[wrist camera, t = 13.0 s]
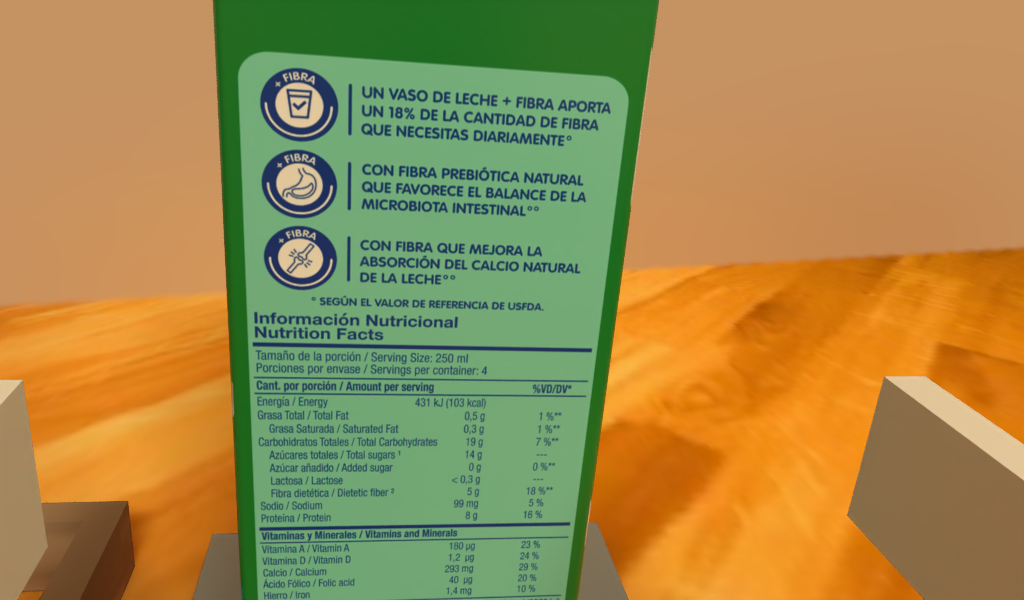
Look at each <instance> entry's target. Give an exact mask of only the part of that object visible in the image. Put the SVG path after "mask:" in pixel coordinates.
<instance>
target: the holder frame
mask: <svg viewBox="0 0 1024 600" xmlns="http://www.w3.org/2000/svg"><path fill="white" fill-rule="evenodd" d="M41 505H42V512H43V518H44V525H45V532H46V539H47V545H48V547H47V549H46V551H45V552H44V554H43V556H42V558H41V559H40V561H39V563H38V565H37V566H36V568H35V570H34V571H33V573H32V575H31V577H30V578H29V580H28V582H27V584H26V585H25V587H24V589H23V590H22V591H43V590H44V592H43V594H42V596H41V597H40V599H39V600H121V597H122V595H123V593H124V590H125V588H126V585H127V583H128V581H129V578H130V576H131V574H132V571H133V569H134V567H135V564H134V554H133V545H132V535H131V525H130V516H129V506H128V501H109V502H64V503H41Z"/></svg>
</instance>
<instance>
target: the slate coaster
mask: <svg viewBox="0 0 1024 600" xmlns="http://www.w3.org/2000/svg"><path fill="white" fill-rule="evenodd" d="M193 600H241V583H240V562H239V541H238V533H228V534H213V535H212V538H211V542H210V545H209V548H208V551H207V555H206V558H205V561H204V564H203V568H202V571H201V574H200V578H199V581H198V584H197V587H196V591H195V594H194V597H193ZM578 600H628V597H627V595H626V592H625V590H624V587H623V585H622V583H621V580H620V578H619V575H618V573H617V570H616V568H615V566H614V563H613V561H612V558H611V556H610V553H609V551H608V549H607V546H606V544H605V541H604V539H603V536H602V534H601V532H600V529H599V527H598V524H597V523H588V530H587V537H586V544H585V552H584V559H583V566H582V574H581V581H580V589H579V596H578Z"/></svg>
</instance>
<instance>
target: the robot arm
mask: <svg viewBox="0 0 1024 600" xmlns="http://www.w3.org/2000/svg"><path fill="white" fill-rule="evenodd" d="M847 516H848V517H849V518H850V519H851V520H852V521H853V522H854V523H855V525H856V526H857V527H858V528H859V529H860V530H861V531H862V532H863V533H864V534H865V535H866V537H867V538H868V539H869V540H870V541H871V542H872V543H873V544H874V545H875V546H876V547H877V549H878V550H879V551H880V552H881V553H882V554H883V555H884V556H885V557H886V558H887V559H888V561H889V562H890V563H891V564H892V565H893V566H894V567H895V568H896V569H897V570H898V571H899V573H900V574H901V575H902V576H903V577H904V578H905V579H906V580H907V581H908V582H909V583H910V585H911V586H912V587H913V588H914V589H915V590H916V591H917V592H918V593H919V594H920V595H921V597H922V598H923V599H924V600H1024V444H1022V443H1021V442H1019V441H1018V440H1016V439H1015V438H1014V437H1012V436H1011V435H1009V434H1008V433H1006V432H1005V431H1003V430H1002V429H1001V428H999V427H998V426H996V425H995V424H993V423H992V422H990V421H989V420H987V419H986V418H985V417H983V416H982V415H980V414H979V413H977V412H976V411H974V410H973V409H972V408H970V407H969V406H967V405H966V404H964V403H963V402H961V401H960V400H958V399H957V398H956V397H954V396H953V395H951V394H950V393H948V392H947V391H945V390H944V389H942V388H941V387H940V386H938V385H937V384H935V383H934V382H932V381H931V380H929V379H928V378H927V377H925V376H910V377H884V379H883V383H882V387H881V391H880V394H879V398H878V402H877V406H876V409H875V413H874V417H873V421H872V425H871V428H870V432H869V436H868V440H867V443H866V447H865V451H864V455H863V458H862V462H861V466H860V470H859V473H858V477H857V481H856V485H855V489H854V492H853V496H852V500H851V504H850V507H849V511H848V515H847ZM47 547H48V545H47V539H46V532H45V525H44V518H43V512H42V505H41V498H40V492H39V485H38V478H37V472H36V465H35V458H34V452H33V445H32V438H31V432H30V425H29V418H28V412H27V405H26V398H25V392H24V385H23V380H0V600H17V599H18V597H19V596H20V594H21V592H22V590H23V589H24V587H25V585H26V584H27V582H28V580H29V578H30V577H31V575H32V573H33V571H34V570H35V568H36V566H37V565H38V563H39V561H40V559H41V558H42V556H43V554H44V552H45V551H46V549H47Z"/></svg>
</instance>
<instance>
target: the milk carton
mask: <svg viewBox="0 0 1024 600" xmlns="http://www.w3.org/2000/svg"><path fill="white" fill-rule="evenodd" d="M658 4H659V0H213V12H214V33H215V53H216V54H215V55H216V76H217V98H218V118H219V140H220V161H221V182H222V201H223V202H222V203H223V224H224V245H225V265H226V288H227V309H228V330H229V351H230V372H231V393H232V414H233V435H234V457H235V478H236V499H237V520H238V541H239V562H240V583H241V600H578V596H579V589H580V581H581V574H582V566H583V559H584V552H585V544H586V537H587V530H588V522H589V515H590V507H591V500H592V493H593V485H594V478H595V470H596V463H597V456H598V448H599V441H600V433H601V426H602V419H603V411H604V404H605V396H606V389H607V382H608V374H609V367H610V359H611V352H612V345H613V337H614V330H615V323H616V315H617V308H618V300H619V293H620V286H621V278H622V271H623V263H624V256H625V248H626V241H627V234H628V226H629V218H630V212H631V204H632V196H633V188H634V182H635V175H636V167H637V160H638V152H639V144H640V138H641V130H642V123H643V116H644V107H645V100H646V93H647V85H648V78H649V71H650V64H651V55H652V48H653V41H654V34H655V27H656V19H657V12H658Z"/></svg>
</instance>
